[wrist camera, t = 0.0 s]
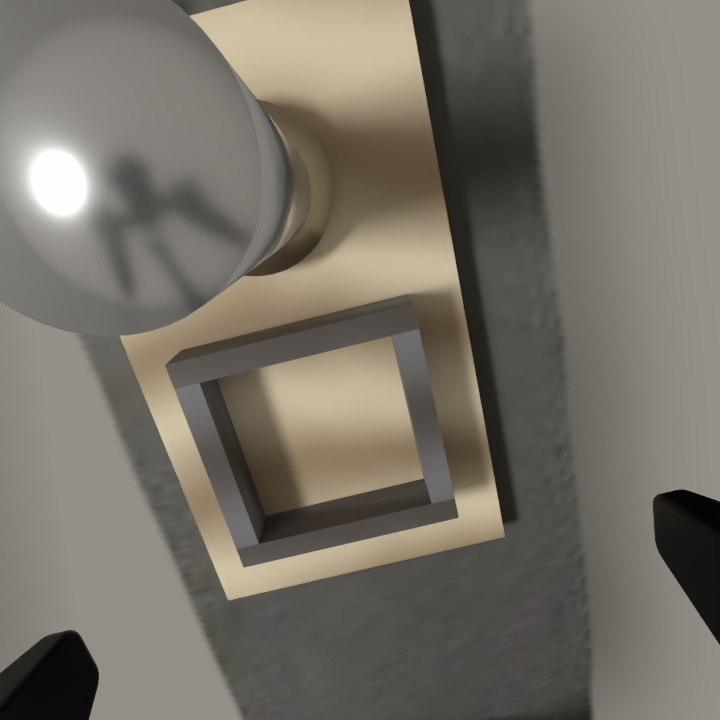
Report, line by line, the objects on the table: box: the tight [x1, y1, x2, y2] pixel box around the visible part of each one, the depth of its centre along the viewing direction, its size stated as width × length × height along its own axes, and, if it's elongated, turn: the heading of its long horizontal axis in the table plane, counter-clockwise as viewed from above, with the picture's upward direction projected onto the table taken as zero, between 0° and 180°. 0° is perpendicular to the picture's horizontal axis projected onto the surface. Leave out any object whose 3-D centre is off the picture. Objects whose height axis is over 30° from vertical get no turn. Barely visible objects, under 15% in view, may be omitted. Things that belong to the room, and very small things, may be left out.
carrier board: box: [120, 0, 505, 600], centre depth 20 cm, size 24×14×3 cm, turn 14°
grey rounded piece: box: [0, 0, 334, 336], centre depth 12 cm, size 6×6×13 cm
